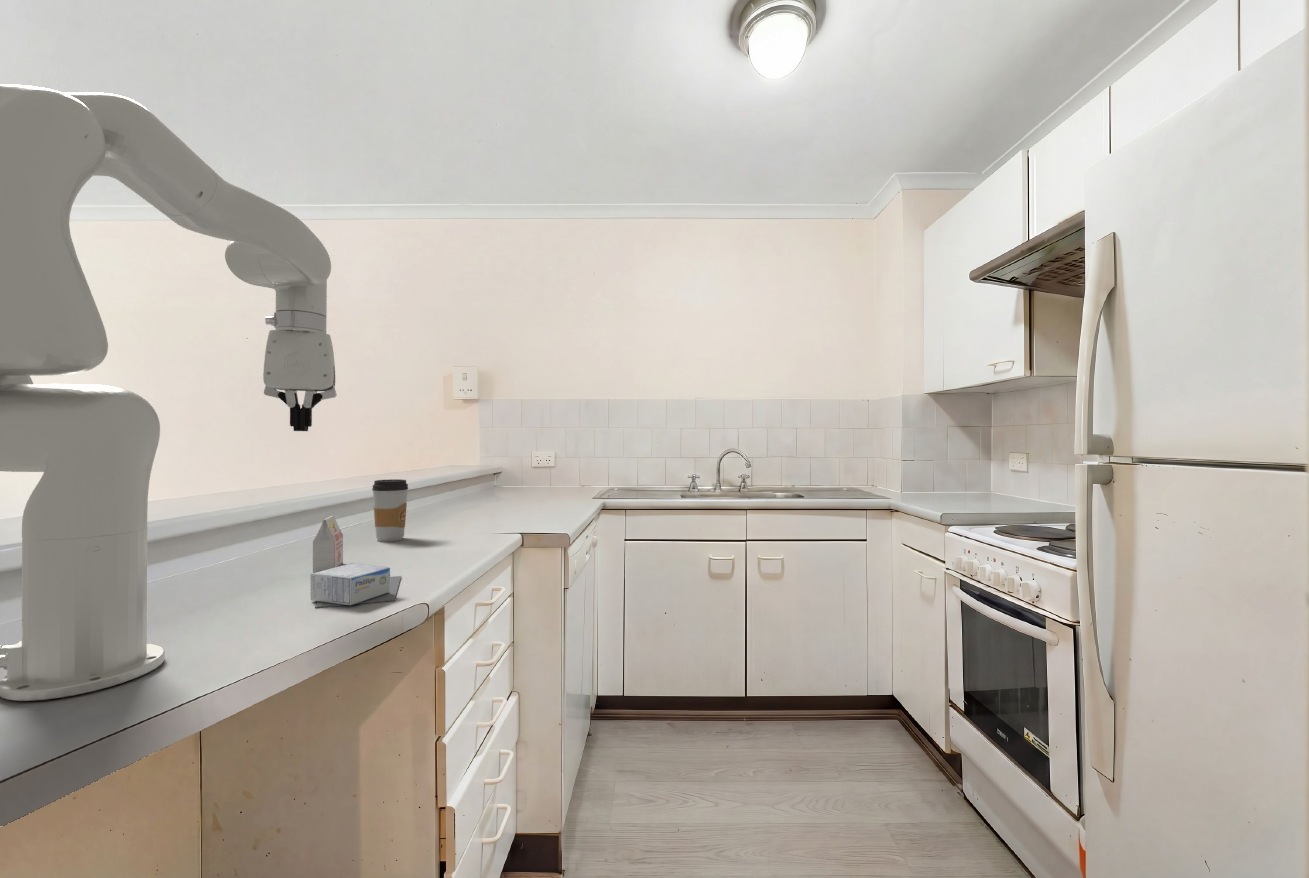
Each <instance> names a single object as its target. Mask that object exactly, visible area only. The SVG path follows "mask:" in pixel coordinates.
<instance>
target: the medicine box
mask: <svg viewBox="0 0 1309 878" xmlns="http://www.w3.org/2000/svg"><path fill="white" fill-rule="evenodd" d="M390 577H391V567H390V566H382V565H374V564H364V563H354V562H352V563H348V564H344V565H343V564H342V565H341V566H339V567H335V568H331V569H328V570H324V571H320V572H312V573H310V601H314V602H319V601H320V602H328V603H336V604H344V605H343V606H353V605H358V604H357V603H360V602H363V601H366V600H369V599H372V598H375V597H378V596H381V595H384V594H387V593H389V592H390Z"/></svg>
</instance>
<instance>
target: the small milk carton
mask: <svg viewBox="0 0 1309 878" xmlns="http://www.w3.org/2000/svg"><path fill="white" fill-rule="evenodd" d="M343 564H344V534H343V532H342V530H341V528H340V526H339V525H338V522H337V520H336V517H335V515H330V516H329V517H326V518H325V519H323V520H322V523H321V525H320V528H319V529H318V532H317V533H316V536H315V537H314V539H313V541H312V573H316V572H320V571H324V570H328V569H331V568H335V567H339V566H343Z"/></svg>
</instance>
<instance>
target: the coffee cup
mask: <svg viewBox="0 0 1309 878" xmlns="http://www.w3.org/2000/svg"><path fill="white" fill-rule="evenodd" d="M373 482H374V483H373V485H372V488H371V491H372V496H373V517H374V518H373V519H374V529H375V539H377V541H378V542H381V543H382V542H384V543H385V542H387V543H389V542H397V541H401V540H403V538H405V527H406V518H407V517H406V516H407V504H408V503H407V501H408V500H407V499H408V490H409V484H408V483H407V480H406V479H401V478H400V479H392V478H391V479H378V480H377V479H375V480H374V481H373Z"/></svg>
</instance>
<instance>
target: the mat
mask: <svg viewBox="0 0 1309 878" xmlns="http://www.w3.org/2000/svg"><path fill="white" fill-rule="evenodd" d="M401 578H402V576H401V575H398V576H397V575H396V576H395V575H394V576H390V592H389V593H387V594H384V595H381V596H378V597H375V598H372V599H369V600H366V601H363V602H360V603H357V604H356V605H362V604H363V605H364V604H372V603H373V604H375V603H376V604H377V603H385V602H386V601H387V602H394V600H395V599H396V598H397V594H396V593H398V590H399V586H400V584H401V583H400V582H401ZM341 606H345V605H344V604H336V603H328V602H320V601H317V603H316V604H315V606H314V608H315V609H318V608H329V607H341Z"/></svg>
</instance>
